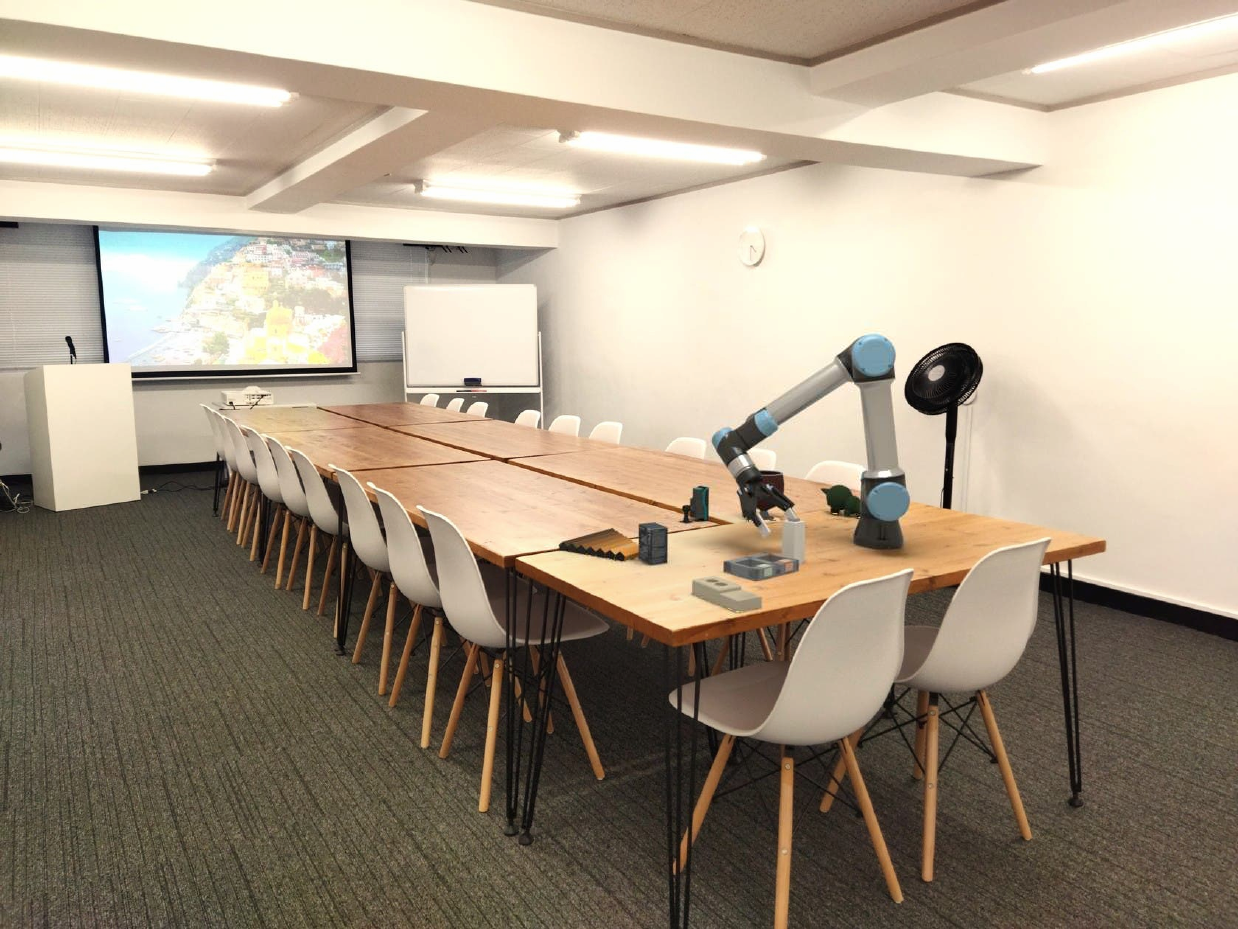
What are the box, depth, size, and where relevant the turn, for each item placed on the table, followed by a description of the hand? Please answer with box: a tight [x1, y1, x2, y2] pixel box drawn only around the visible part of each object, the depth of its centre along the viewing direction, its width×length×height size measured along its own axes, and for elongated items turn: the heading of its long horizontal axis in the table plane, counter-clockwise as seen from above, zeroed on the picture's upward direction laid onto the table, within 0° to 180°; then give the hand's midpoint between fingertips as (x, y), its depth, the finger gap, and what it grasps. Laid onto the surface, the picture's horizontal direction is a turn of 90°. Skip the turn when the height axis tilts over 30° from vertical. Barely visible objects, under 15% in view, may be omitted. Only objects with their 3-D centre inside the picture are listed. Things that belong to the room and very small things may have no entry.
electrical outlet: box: [691, 575, 763, 612], centre depth 206 cm, size 7×4×18 cm
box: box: [638, 521, 669, 566], centre depth 244 cm, size 8×6×11 cm
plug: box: [780, 517, 806, 565], centre depth 242 cm, size 4×4×13 cm
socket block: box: [723, 551, 800, 582], centre depth 233 cm, size 17×12×3 cm
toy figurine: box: [820, 484, 860, 518], centre depth 311 cm, size 9×19×25 cm
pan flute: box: [558, 527, 639, 562], centre depth 261 cm, size 25×3×25 cm
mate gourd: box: [745, 469, 785, 521], centre depth 303 cm, size 16×14×20 cm
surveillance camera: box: [678, 485, 710, 525], centre depth 302 cm, size 6×12×10 cm
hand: (783, 531), depth 244 cm, fingers open, 13 cm apart
